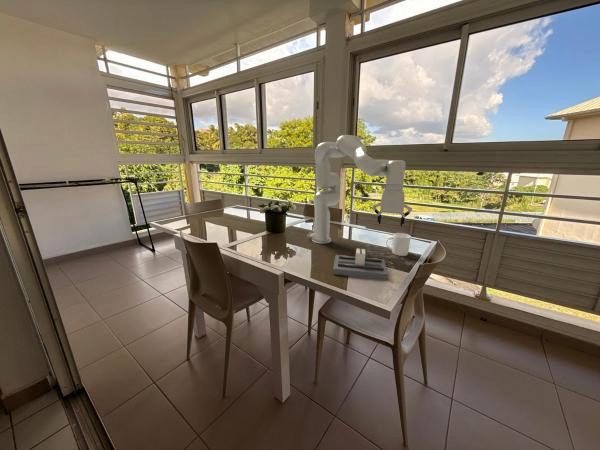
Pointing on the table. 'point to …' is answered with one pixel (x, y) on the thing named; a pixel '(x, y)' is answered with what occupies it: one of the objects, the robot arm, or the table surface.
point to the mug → (400, 244)
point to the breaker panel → (360, 267)
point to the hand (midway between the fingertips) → (390, 224)
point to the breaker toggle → (360, 257)
